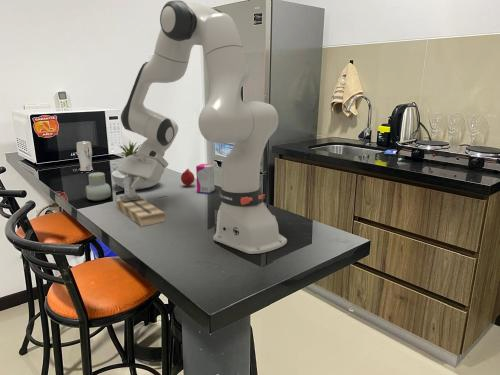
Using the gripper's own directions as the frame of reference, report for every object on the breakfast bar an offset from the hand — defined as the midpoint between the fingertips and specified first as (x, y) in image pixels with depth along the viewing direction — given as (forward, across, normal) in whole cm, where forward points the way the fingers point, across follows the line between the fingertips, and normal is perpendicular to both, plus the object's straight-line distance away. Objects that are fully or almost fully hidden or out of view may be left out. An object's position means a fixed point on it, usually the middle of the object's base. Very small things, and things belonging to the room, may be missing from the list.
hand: (128, 187), depth 135 cm
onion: (-19, -6, +30) cm, 36 cm away
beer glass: (-10, -69, +22) cm, 73 cm away
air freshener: (+6, -20, +6) cm, 21 cm away
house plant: (-18, -47, +30) cm, 58 cm away
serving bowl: (-8, -23, +20) cm, 31 cm away
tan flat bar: (+7, +8, +5) cm, 11 cm away
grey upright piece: (+3, 0, +4) cm, 5 cm away
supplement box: (-18, +6, +29) cm, 35 cm away
